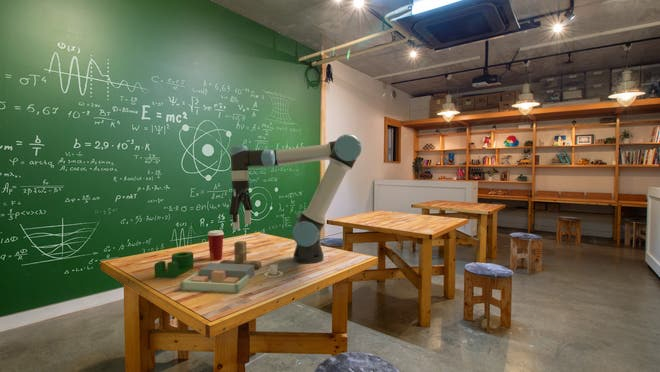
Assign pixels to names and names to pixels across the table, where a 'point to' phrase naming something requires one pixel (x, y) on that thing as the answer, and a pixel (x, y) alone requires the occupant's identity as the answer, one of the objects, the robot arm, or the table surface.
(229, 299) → the table surface
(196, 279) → the tile
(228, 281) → the tile
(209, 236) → the paper cup
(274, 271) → the teacup and saucer
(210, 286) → the tray
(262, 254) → the table surface
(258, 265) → the scraper
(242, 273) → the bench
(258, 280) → the table surface
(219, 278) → the tile
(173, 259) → the green bracket
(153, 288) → the table surface
